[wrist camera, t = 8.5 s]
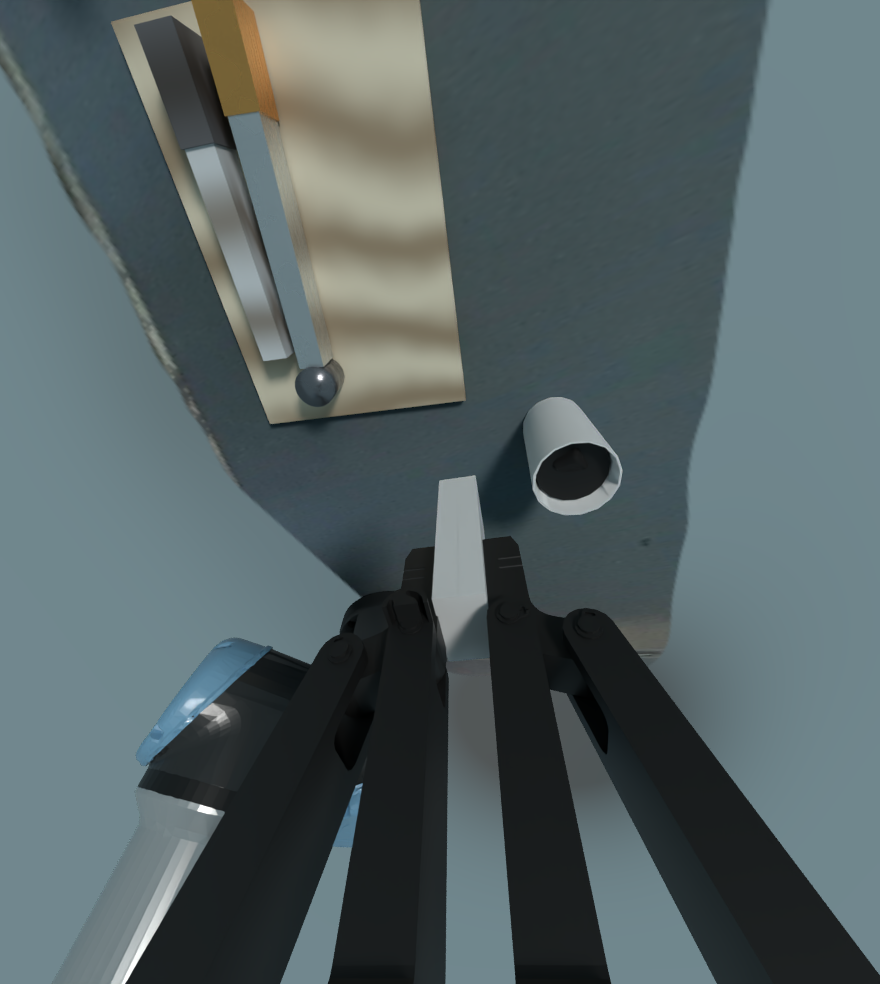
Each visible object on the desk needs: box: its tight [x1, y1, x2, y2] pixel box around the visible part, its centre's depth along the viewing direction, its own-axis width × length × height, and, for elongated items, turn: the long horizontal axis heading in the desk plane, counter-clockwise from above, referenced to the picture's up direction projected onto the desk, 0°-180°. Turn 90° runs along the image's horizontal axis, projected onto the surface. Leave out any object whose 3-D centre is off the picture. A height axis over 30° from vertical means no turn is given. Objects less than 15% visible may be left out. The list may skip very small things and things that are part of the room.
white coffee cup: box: [523, 397, 622, 515], centre depth 36 cm, size 7×7×10 cm
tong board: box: [111, 0, 466, 424], centre depth 31 cm, size 27×19×4 cm
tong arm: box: [191, 0, 345, 407], centre depth 30 cm, size 24×3×4 cm, turn 6°
